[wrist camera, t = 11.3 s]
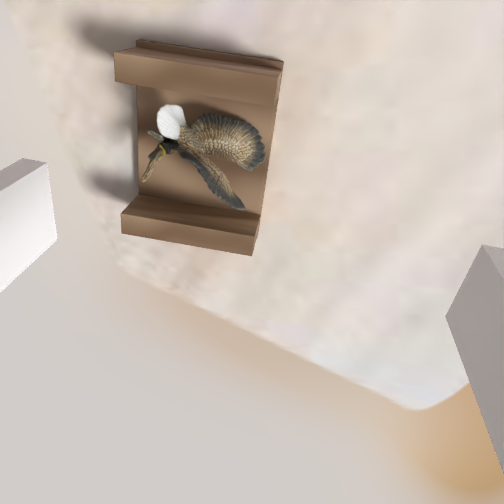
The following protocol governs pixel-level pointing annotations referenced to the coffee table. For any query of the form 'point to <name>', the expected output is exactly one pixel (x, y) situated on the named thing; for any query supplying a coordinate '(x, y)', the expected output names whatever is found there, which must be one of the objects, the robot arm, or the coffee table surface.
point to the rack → (186, 174)
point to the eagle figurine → (207, 147)
